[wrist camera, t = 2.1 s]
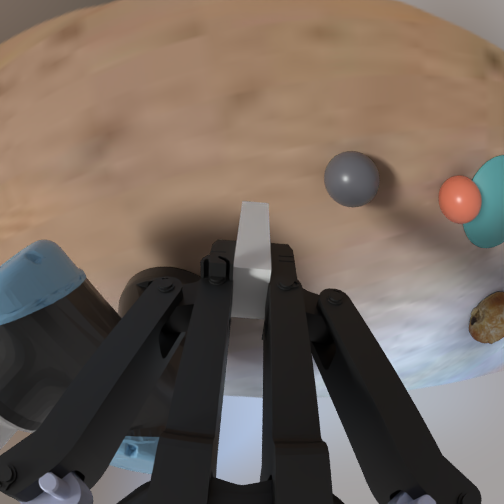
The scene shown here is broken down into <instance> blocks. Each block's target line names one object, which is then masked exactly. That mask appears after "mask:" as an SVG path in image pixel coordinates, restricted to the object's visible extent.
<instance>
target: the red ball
mask: <svg viewBox="0 0 504 504" xmlns="http://www.w3.org/2000/svg"><path fill="white" fill-rule="evenodd" d="M481 204H482V198H481V193H480V190H479V188H478V187H477V185H476V184H475V183H474V182H473V181H472V180H471V179H469V178H467V177H465V176H453V177H451V178H449V179H447V180H446V181H445V182H444V183H443V185H442V186H441V188H440V191H439V205H440V208H441V210H442V212H443V214H444V215H445V216H446V217H447V218H448V219H449V220H450V221H452V222H454V223H458V224H465V223H468V222H470V221H472V220H473V219H475V218H476V216H477V215H478V213H479V212H480V209H481Z"/></svg>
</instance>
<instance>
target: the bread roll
mask: <svg viewBox="0 0 504 504" xmlns="http://www.w3.org/2000/svg"><path fill="white" fill-rule="evenodd" d="M469 332H470V334H471V336H472V337H473V338H474V339H475V340H477V341H479V342H481V343H490V344H492V343H494V342H496V341H498V340H500V339H502V338H503V337H504V292H496V293H494V294H491V295H490V296H488V297H486V298H485V299H484V300H482V301H481V302H480V303H479V305H478V306H477V307H476V308H474V309H473V311H472V313H471V318H470V324H469Z"/></svg>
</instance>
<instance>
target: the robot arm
mask: <svg viewBox="0 0 504 504" xmlns="http://www.w3.org/2000/svg"><path fill="white" fill-rule="evenodd" d="M294 262H295V261H294V255H293V250H292V249H291V248H290V246H289V245H287V244H275V243H270V225H269V204H268V203H260V202H248V201H242V208H241V215H240V222H239V229H238V236H237V241H231V240H217V241H216V242H215V243H214V244H212V248H211V252H210V255H207V256H205V257H204V258H203V259H202V260H201V262H200V263H201V277H199V276H197V275H195V274H193V273H190V272H188V271H185V270H181V269H177V268H171V267H155V268H150V269H146V270H143V271H141V272H139V273H137V274H136V275H135V276H133V277H132V278H131V279H130V280H129V282H128V283H127V285H126V287H125V289H124V291H123V292H122V295H121V297H120V300H119V308H118V313H117V312H116V311H115V310H114V309H113V308H112V307H111V306H110V305H109V303H108V302H107V301H106V300H105V299H104V298H103V297H102V295H101V294H100V293H99V292H98V291H97V290H96V288H95V287H94V286H93V285H92V284H91V283H90V281H89V280H88V279H87V278H86V275H85V273H84V271H83V270H82V269H80V268H78V267H77V266H76V265H75V264H74V263H73V262H72V261H71V259H70V258H69V257H68V256H67V255H66V253H65V252H64V251H63V250H62V249H61V247H59V246H58V245H57V244H56V243H55V242H53V241H50V240H38V241H36V242H34V243H32V244H30V245H29V246H27V247H26V248H24V249H23V250H21V251H20V252H18V253H17V254H16V255H14V256H13V257H12V258H10V259H9V260H8V261H6V262H5V263H4V264H2V265H1V266H0V449H1V448H2V447H3V446H4V445H5V444H6V442H7V441H8V440H9V439H10V438H11V437H12V436H13V435H14V434H15V432H16V431H17V430H21V431H25V432H31V433H32V432H33V433H32V434H30V435H29V436H28V437H26V438H25V439H23V440H22V441H21V442H19V443H18V444H16V445H15V446H14V447H12V448H11V449H9V450H8V451H6V452H5V453H3V454H2V455H1V456H0V491H1V492H3V493H4V494H6V495H8V496H10V497H12V498H14V499H16V500H17V501H19V502H20V503H21V504H93V496H92V493H91V491H90V489H91V488H92V487H93V486H94V485H95V484H96V483H97V482H98V480H99V479H100V478H101V477H102V475H103V474H104V472H105V471H106V469H107V468H108V466H109V465H112V466H115V467H118V468H122V469H126V470H131V471H136V472H142V473H148V474H152V476H151V481H149V482H146V483H145V484H143V485H141V486H140V487H138V488H137V489H135V490H134V491H133V492H131V493H130V494H129V495H128V496H126V497H125V498H123V499H122V500H121V501H119V502H118V503H117V504H344V503H343V502H342V501H341V500H340V499H339V498H338V497H336V496H335V495H334V494H333V493H332V481H331V470H330V460H329V451H328V447H327V444H326V443H325V442H324V441H322V439H321V433H320V424H319V414H318V404H317V396H316V387H315V378H314V370H313V362H312V356H313V358H314V360H315V362H316V365H317V367H318V369H319V372H320V374H321V376H322V378H323V381H324V383H325V385H326V388H327V390H328V392H329V395H330V397H331V399H332V401H333V404H334V406H335V408H336V411H337V413H338V415H339V418H340V420H341V422H342V425H343V427H344V429H345V432H346V434H347V437H348V439H349V441H350V443H351V446H352V448H353V451H354V453H355V455H356V458H357V460H358V463H359V465H360V467H361V469H362V472H363V474H364V477H365V479H366V482H367V484H368V486H369V488H370V490H371V492H372V494H373V495H374V497H375V499H376V500H377V502H378V503H379V504H481V494H480V491H479V490H478V488H477V487H476V486H475V485H474V484H473V483H472V482H471V481H470V480H469V479H467V478H466V477H465V476H464V475H463V474H462V473H461V472H460V471H459V470H458V469H456V468H455V466H453V465H452V464H451V463H450V462H449V461H448V460H447V459H446V458H445V457H444V456H443V455H442V453H441V452H440V450H439V448H438V446H437V444H436V442H435V440H434V438H433V437H432V435H431V433H430V431H429V429H428V427H427V425H426V424H425V422H424V420H423V418H422V417H421V415H420V413H419V411H418V409H417V408H416V406H415V404H414V402H413V401H412V399H411V397H410V395H409V394H408V392H407V390H406V388H405V387H404V385H403V383H402V382H401V380H400V378H399V376H398V375H397V373H396V371H395V370H394V368H393V366H392V365H391V363H390V361H389V360H388V358H387V357H386V355H385V353H384V352H383V350H382V348H381V347H380V345H379V343H378V342H377V340H376V339H375V337H374V335H373V334H372V332H371V331H370V329H369V328H368V326H367V324H366V323H365V321H364V320H363V318H362V317H361V315H360V313H359V312H358V310H357V309H356V307H355V306H354V304H353V303H352V301H351V300H350V298H349V297H348V296H347V295H346V293H344V292H342V291H341V290H337V289H325V290H323V291H322V292H320V295H318V294H314V293H311V292H309V291H306V290H305V289H303V288H302V285H301V283H300V282H299V281H298V280H297V274H296V268H295V263H294ZM231 317H238V318H251V319H264V317H265V322H264V328H263V335H262V340H263V426H262V429H263V430H262V432H263V433H262V469H261V476H260V482H259V483H253V484H248V485H237V484H234V483H230V482H227V481H224V480H221V479H218V478H216V467H217V454H218V444H219V432H220V423H221V411H222V402H223V392H224V382H225V373H226V363H227V353H228V344H229V335H230V325H231ZM311 353H312V354H311Z"/></svg>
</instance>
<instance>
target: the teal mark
mask: <svg viewBox="0 0 504 504" xmlns="http://www.w3.org/2000/svg"><path fill="white" fill-rule="evenodd" d="M472 181H473V182H474V183H475V184H476V185H477V187H478V188H479V190H480V193H481V198H482V204H481V209H480V212H479V213H478V215H477V216H476V218H475V219H473V220H472V221H470V222H468V223H465V224H463V226H464V230H465V233H466V235H467V237H468V239H469V240H470V241H471V242H472V243H473V244H474V245H476V246H478V247H481V248H491V247H495V246H497V245H499V244H501V243H503V242H504V155H500V156H496V157H494V158H492V159H490V160H489V161H487V162H486V163H485V164H484V165H483V166H482V167H481V168H480V169H479V170H478V172H477V173H476V174H475V176H474V178H473V179H472Z"/></svg>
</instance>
